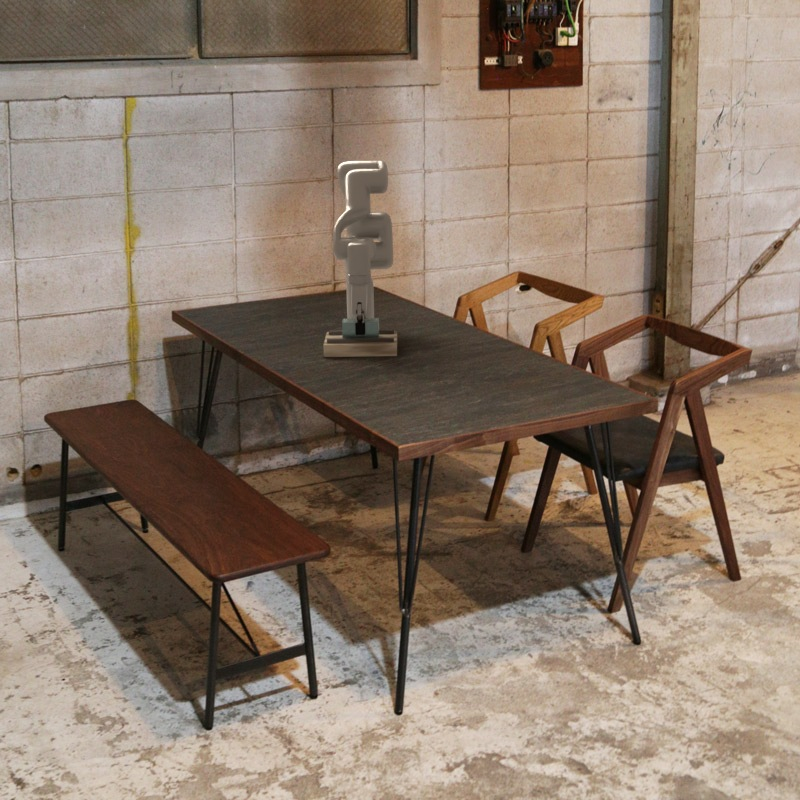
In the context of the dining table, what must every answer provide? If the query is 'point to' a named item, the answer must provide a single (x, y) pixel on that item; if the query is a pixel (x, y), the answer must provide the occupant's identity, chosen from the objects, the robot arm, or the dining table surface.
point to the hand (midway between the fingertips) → (360, 331)
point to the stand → (360, 345)
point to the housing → (370, 328)
